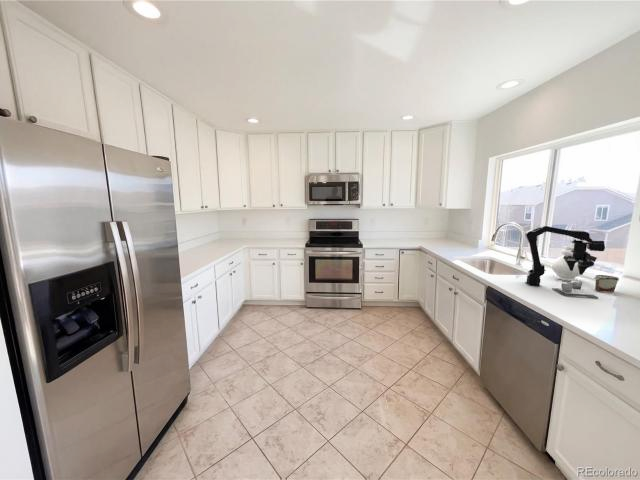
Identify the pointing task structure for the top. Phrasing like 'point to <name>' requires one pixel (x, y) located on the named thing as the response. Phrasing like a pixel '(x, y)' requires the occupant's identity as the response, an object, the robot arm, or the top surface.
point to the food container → (605, 283)
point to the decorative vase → (565, 266)
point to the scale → (575, 294)
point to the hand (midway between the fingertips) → (576, 272)
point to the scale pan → (577, 292)
